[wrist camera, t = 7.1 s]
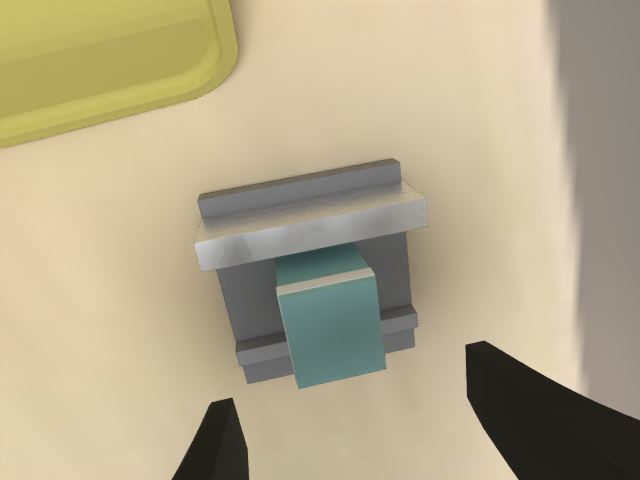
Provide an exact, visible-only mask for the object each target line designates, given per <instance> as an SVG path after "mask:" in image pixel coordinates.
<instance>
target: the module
mask: <svg viewBox="0 0 640 480" xmlns="http://www.w3.org/2000/svg"><path fill="white" fill-rule="evenodd" d="M274 262H275V271H276V279H277V287H276V291H277V297H278V302H279V306H280V311H281V315H282V320H283V324H284V329H285V333H286V338H287V342H288V347H289V351H290V356H291V360H292V365H293V369H294V374H295V378H296V383H297V385H298V388H299V389H301V388H305V387H310V386H314V385H318V384H323V383H327V382H331V381H336V380H340V379H344V378H349V377H353V376H358V375H362V374H366V373H371V372H375V371H379V370H384V369H386V361H385V353H384V344H383V336H382V327H381V319H380V311H379V302H378V294H377V286H376V279H375V274H374V272H373V270H372V269H371V267H368V266H367V264H366V262H365V261H364V259H363V257H362V256H361V254H360V252H359V251H358V249H357V247H356V246H355V244H354V242H349V243H344V244H339V245H334V246H329V247H324V248H319V249H314V250H309V251H304V252H299V253H294V254H289V255H284V256H279V257H274Z"/></svg>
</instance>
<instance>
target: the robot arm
mask: <svg viewBox="0 0 640 480" xmlns="http://www.w3.org/2000/svg"><path fill="white" fill-rule="evenodd" d="M466 379H467V398H468V400H469V402H470V404H471V406H472V408H473V410H474V412H475V414H476V416H477V417H478V419H479V421H480V423H481V425H482V427H483V428H484V430H485V431H486V433H487V434H488V436H489V437H490V439H491V440H492V442H493V443H494V445H495V446H496V448H497V449H498V451H499V452H500V454H501V455H502V456H503V458H504V459H505V461H506V462H507V464H508V465H509V467H510V468H511V469H512V471H513V472H514V474H515V475H516V477H517V478H518V480H640V420H638V419H635V418H633V417H630V416H627V415H625V414H623V413H620V412H618V411H616V410H613V409H611V408H608V407H606V406H604V405H602V404H599V403H597V402H595V401H593V400H591V399H589V398H586V397H584V396H582V395H580V394H578V393H576V392H574V391H572V390H570V389H568V388H566V387H565V386H563V385H561V384H559V383H557V382H555V381H553V380H551V379H550V378H548V377H546V376H544V375H542V374H541V373H539V372H537V371H535V370H533V369H532V368H530V367H528V366H527V365H525V364H523V363H522V362H520V361H518V360H516V359H515V358H513V357H511V356H510V355H508V354H506V353H505V352H503V351H501V350H500V349H498V348H496V347H495V346H493V345H491V344H490V343H488V342H486V341H480V342H476V343H471V344H467V345H466ZM172 480H249V467H248V449H247V445H246V442H245V439H244V435H243V432H242V429H241V425H240V422H239V418H238V415H237V412H236V408H235V405H234V401H233V398H229V399H224V400H220V401H215V402H212V403H211V404H210V405H209V407H208V409H207V412H206V414H205V416H204V418H203V420H202V423H201V425H200V427H199V429H198V431H197V433H196V435H195V437H194V439H193V441H192V443H191V445H190V447H189V449H188V451H187V453H186V455H185V456H184V458H183V460H182V462H181V464H180V466H179V468H178V469H177V471H176V473H175V475H174V476H173V478H172Z"/></svg>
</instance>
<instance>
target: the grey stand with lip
mask: <svg viewBox="0 0 640 480" xmlns="http://www.w3.org/2000/svg"><path fill="white" fill-rule="evenodd" d="M399 180H401V171H400V163H399V162H398V161H396V160H395V159H388V160H383V161H377V162H372V163H367V164H361V165H356V166H351V167H345V168H340V169H335V170H329V171H324V172H318V173H313V174H308V175H302V176H297V177H292V178H286V179H281V180H276V181H270V182H265V183H260V184H254V185H249V186H244V187H238V188H233V189H228V190H222V191H217V192H212V193H206V194H201V195H200V196H199V198H198V200H197V201H198V205H199V209H200V212H201V216H202V218H206V217H211V216H216V215H221V214H227V213H232V212H237V211H242V210H248V209H253V208H258V207H263V206H268V205H274V204H279V203H284V202H289V201H295V200H300V199H305V198H310V197H315V196H321V195H326V194H331V193H336V192H342V191H347V190H352V189H357V188H362V187H368V186H373V185H378V184H383V183H389V182H394V181H399ZM354 244H355V246H356V247H357V249H358V251H359V252H360V254H361V256H362V257H363V259H364V261H365V262H366V264H367V266H368V267H371V269H372V270H373V272H374V274H375V279H376V286H377V294H378V302H379V311H380V319H381V327H382V336H383V344H384V353H389V352H394V351H398V350H403V349H407V348H412V347H415V340H414V328H415V327H418V318H417V312H416V311H415V309H414V308H413V306H412V304H411V292H410V280H409V268H408V256H407V244H406V231H403V232H398V233H393V234H388V235H383V236H378V237H374V238H369V239H364V240H359V241H354ZM216 271H217V274H218V278H219V281H220V285H221V289H222V292H223V296H224V300H225V303H226V307H227V311H228V314H229V318H230V322H231V325H232V329H233V333H234V336H235V340H236V355H237V359H238V362H239V366H242V365H243V369H244V373H245V376H246V380H247V384H251V383H256V382H260V381H265V380H269V379H273V378H278V377H282V376H287V375H291V374H294V369H293V365H292V360H291V356H290V351H289V347H288V342H287V338H286V333H285V329H284V324H283V320H282V315H281V311H280V306H279V302H278V297H277V291H276V287H277V279H276V271H275V262H274V258H269V259H264V260H259V261H254V262H249V263H244V264H240V265H235V266H230V267H225V268H220V269H216Z"/></svg>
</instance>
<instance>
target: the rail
mask: <svg viewBox="0 0 640 480" xmlns="http://www.w3.org/2000/svg"><path fill="white" fill-rule="evenodd" d="M423 227H428V220H427V204H426V197H424V196H423V195H421V194H420V193H419V192H417V191H416V190H414V189H413V188H412V187H410V186H409V185H407V184H406V183H405V182H403V181H402V180H399V181H394V182H389V183H383V184H378V185H373V186H368V187H362V188H357V189H352V190H347V191H342V192H336V193H331V194H326V195H321V196H315V197H310V198H305V199H300V200H295V201H289V202H284V203H279V204H274V205H268V206H263V207H258V208H253V209H248V210H242V211H237V212H232V213H227V214H221V215H216V216H211V217H206V218H202V220H201V223H200V226H199V229H198V232H197V235H196V238H195V241H194V247H195V250H196V254H197V257H198V261H199V264H200V267H201V271H202V272H205V271H210V270H215V269H220V268H225V267H230V266H235V265H240V264H244V263H249V262H254V261H259V260H264V259H269V258H274V257H279V256H284V255H289V254H294V253H299V252H304V251H309V250H314V249H319V248H324V247H329V246H334V245H339V244H344V243H349V242H354V241H359V240H364V239H369V238H374V237H378V236H383V235H388V234H393V233H398V232H403V231H408V230H413V229H418V228H423Z"/></svg>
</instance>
